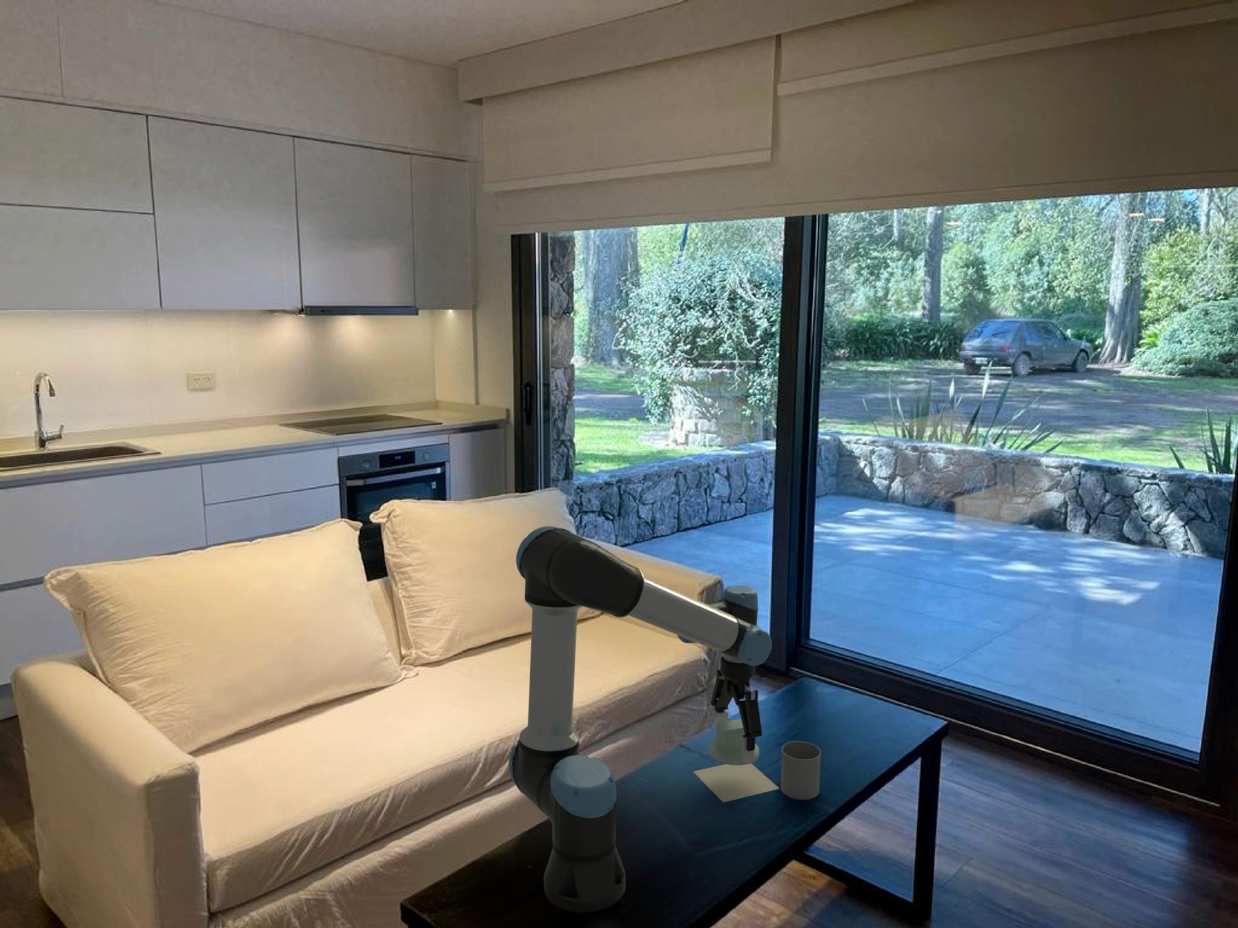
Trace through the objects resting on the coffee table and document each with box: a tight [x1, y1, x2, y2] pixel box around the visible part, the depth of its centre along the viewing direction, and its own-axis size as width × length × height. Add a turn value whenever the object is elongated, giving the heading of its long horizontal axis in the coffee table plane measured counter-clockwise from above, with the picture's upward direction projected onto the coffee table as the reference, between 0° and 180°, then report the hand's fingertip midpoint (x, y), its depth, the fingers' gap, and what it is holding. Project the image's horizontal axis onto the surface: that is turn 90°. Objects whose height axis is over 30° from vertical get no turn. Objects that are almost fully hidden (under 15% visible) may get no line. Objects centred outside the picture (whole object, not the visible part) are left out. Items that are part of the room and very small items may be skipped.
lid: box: [708, 718, 760, 765], centre depth 206 cm, size 11×11×7 cm
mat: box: [693, 763, 780, 803], centre depth 208 cm, size 14×14×1 cm
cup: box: [780, 740, 822, 801], centre depth 203 cm, size 8×8×10 cm
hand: (734, 750), depth 206 cm, fingers closed on lid, 11 cm apart
